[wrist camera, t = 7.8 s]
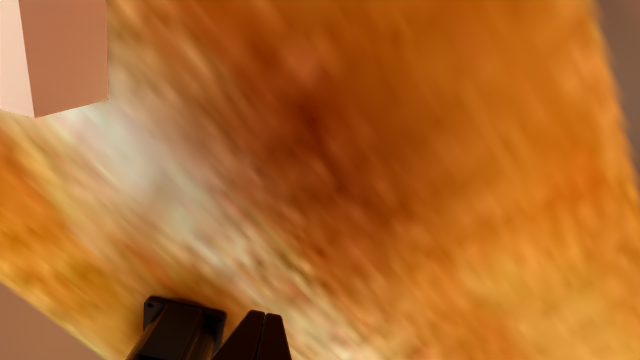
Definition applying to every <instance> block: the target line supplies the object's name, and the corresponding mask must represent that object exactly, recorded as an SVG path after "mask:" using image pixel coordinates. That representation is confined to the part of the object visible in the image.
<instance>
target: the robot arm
mask: <svg viewBox="0 0 640 360" xmlns="http://www.w3.org/2000/svg"><path fill="white" fill-rule="evenodd" d="M226 318H227V317H226V314H224V313H222V312H218V311H214V310H209V309H205V308H200V307H196V306H191V305H187V304H182V303H178V302H173V301H169V300H164V299H160V298H155V297H149V298H147V300H146V301H145V303H144V322H143V333H142V335H141V336H140V338H139V339H138V341H137V343H136V344H135V346H134V347H133V349H132V350H131V352H130V353H129V355H128V356H127V358H126V360H292V358H291V354H290V350H289V346H288V342H287V337H286V333H285V329H284V325H283V320H282V317H281V316H280V315H278V314H272V313H267V314H266V315H265V313H264V312H262V311H257V310H250V311H249V312H248V313H247V314H246V316H245V317H244V318H243V319H242V320H241V322H240V323H239V324H238V325H237V327H236V328H235V329H234V330H233V332H232V333H231V334H230V335H229V337H228V338H227V339H226V340H225V341H224V343H223V344H222V345H221V343H222V338H223V333H224V328H225V323H226ZM264 318H265V319H264ZM262 327H263V328H262ZM261 331H262V332H261Z"/></svg>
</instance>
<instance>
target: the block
mask: <svg viewBox="0 0 640 360" xmlns="http://www.w3.org/2000/svg"><path fill="white" fill-rule="evenodd" d="M107 99H109V91H108V54H107V16H106V0H0V109H1V110H5V111H9V112H13V113H16V114H20V115H24V116H28V117H31V118H38V117H42V116H45V115H49V114H53V113H57V112H61V111H65V110H68V109H72V108H76V107H80V106H84V105H88V104H92V103H95V102H99V101H103V100H107Z"/></svg>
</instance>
